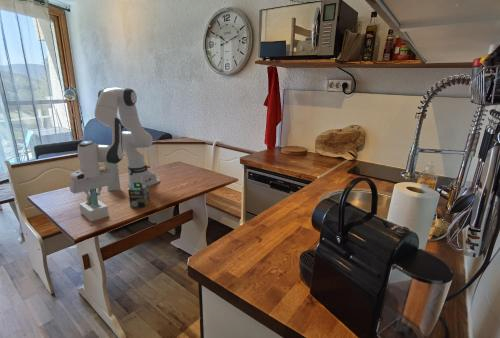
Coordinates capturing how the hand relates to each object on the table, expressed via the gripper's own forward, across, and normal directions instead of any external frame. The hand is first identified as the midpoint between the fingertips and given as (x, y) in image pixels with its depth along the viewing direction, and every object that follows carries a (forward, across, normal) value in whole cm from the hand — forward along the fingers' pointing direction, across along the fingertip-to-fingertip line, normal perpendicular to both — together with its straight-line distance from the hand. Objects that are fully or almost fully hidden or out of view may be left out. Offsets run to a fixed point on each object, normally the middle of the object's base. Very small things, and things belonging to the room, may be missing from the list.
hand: (94, 196), depth 143 cm
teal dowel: (+5, 0, 0) cm, 5 cm away
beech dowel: (+12, 0, -7) cm, 14 cm away
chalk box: (+12, -24, +3) cm, 27 cm away
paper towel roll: (+12, -24, -32) cm, 42 cm away
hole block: (+12, 0, -3) cm, 13 cm away
